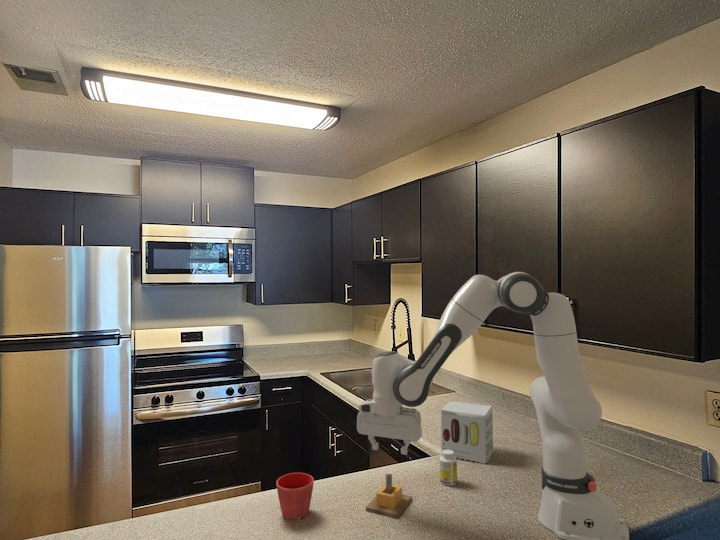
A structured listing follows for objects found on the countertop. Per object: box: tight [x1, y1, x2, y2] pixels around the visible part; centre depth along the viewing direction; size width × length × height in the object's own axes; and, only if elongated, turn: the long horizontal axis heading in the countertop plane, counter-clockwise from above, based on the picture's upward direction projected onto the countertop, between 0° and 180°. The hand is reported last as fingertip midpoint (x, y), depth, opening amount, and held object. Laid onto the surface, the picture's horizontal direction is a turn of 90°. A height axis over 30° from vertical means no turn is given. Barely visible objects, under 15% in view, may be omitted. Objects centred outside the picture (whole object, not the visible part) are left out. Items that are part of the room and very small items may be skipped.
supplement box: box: [440, 400, 494, 464], centre depth 176 cm, size 17×13×18 cm
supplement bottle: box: [439, 450, 458, 487], centre depth 153 cm, size 6×6×10 cm
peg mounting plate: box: [365, 473, 413, 519], centre depth 139 cm, size 10×12×9 cm
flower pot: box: [275, 472, 315, 520], centre depth 135 cm, size 11×11×10 cm
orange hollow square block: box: [375, 483, 403, 509], centre depth 139 cm, size 5×7×4 cm
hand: (389, 451), depth 139 cm, fingers open, 8 cm apart
